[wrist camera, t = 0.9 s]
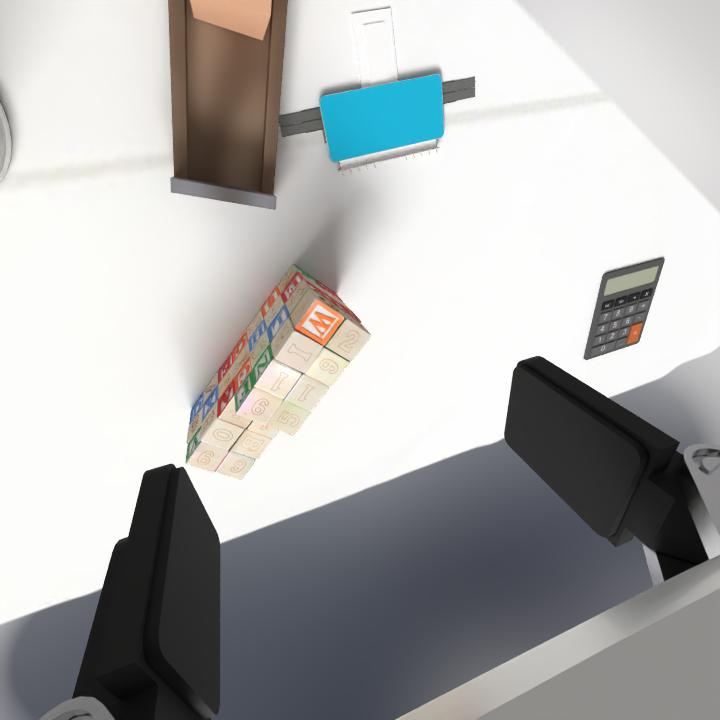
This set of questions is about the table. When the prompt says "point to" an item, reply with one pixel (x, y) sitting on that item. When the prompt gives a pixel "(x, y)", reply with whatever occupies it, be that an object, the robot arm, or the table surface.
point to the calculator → (622, 307)
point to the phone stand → (379, 104)
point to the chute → (225, 107)
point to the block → (235, 15)
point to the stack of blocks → (273, 375)
